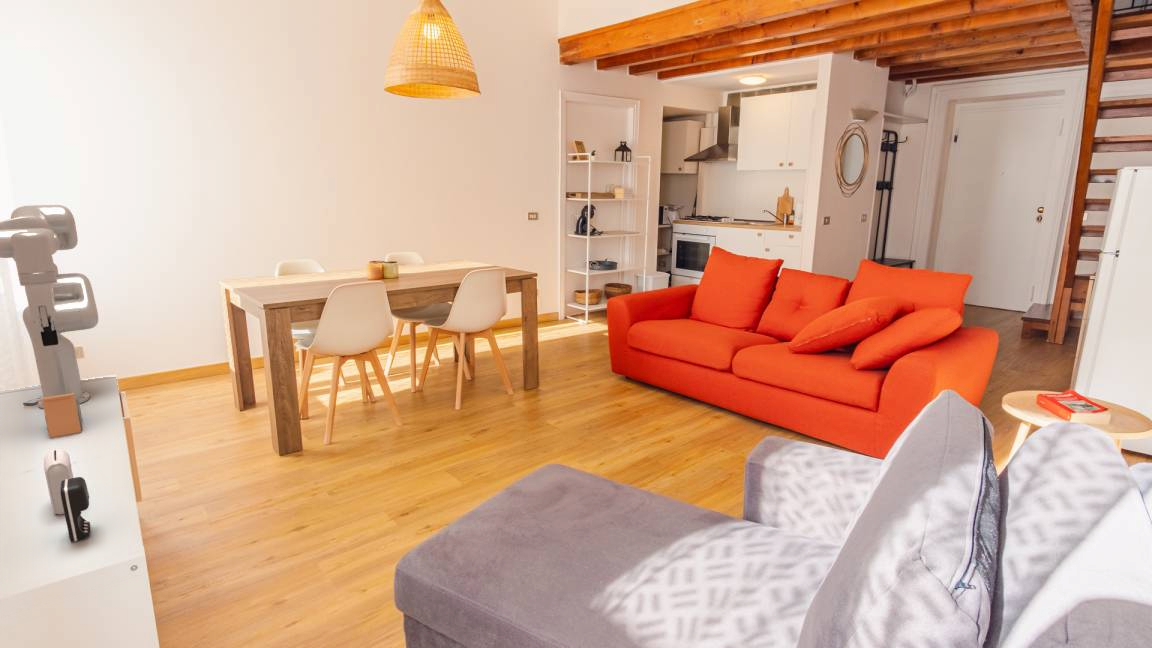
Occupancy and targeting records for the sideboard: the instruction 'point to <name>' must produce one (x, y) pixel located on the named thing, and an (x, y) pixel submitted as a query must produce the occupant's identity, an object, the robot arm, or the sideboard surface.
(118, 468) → the sideboard surface
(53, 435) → the side door
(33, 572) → the sideboard surface
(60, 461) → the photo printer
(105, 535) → the sideboard surface
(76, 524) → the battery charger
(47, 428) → the camera housing
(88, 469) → the sideboard surface
